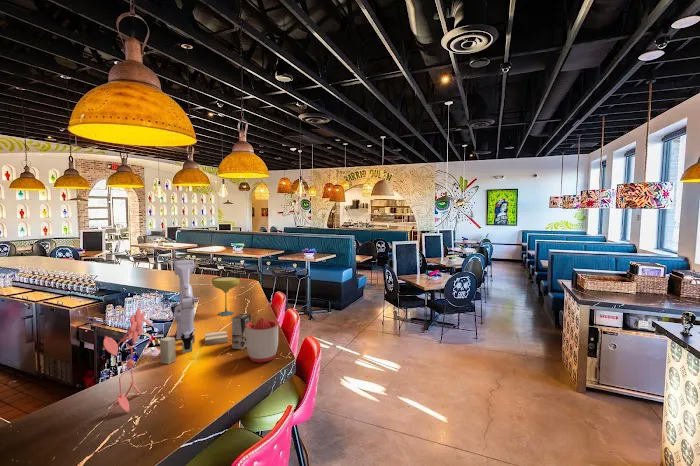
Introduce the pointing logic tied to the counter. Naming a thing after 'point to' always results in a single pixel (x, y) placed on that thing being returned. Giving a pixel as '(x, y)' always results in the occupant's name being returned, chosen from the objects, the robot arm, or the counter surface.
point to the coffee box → (239, 330)
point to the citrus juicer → (262, 340)
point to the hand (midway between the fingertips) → (187, 347)
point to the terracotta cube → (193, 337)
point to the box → (167, 350)
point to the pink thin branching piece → (113, 349)
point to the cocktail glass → (225, 288)
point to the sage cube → (187, 349)
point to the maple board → (216, 338)
